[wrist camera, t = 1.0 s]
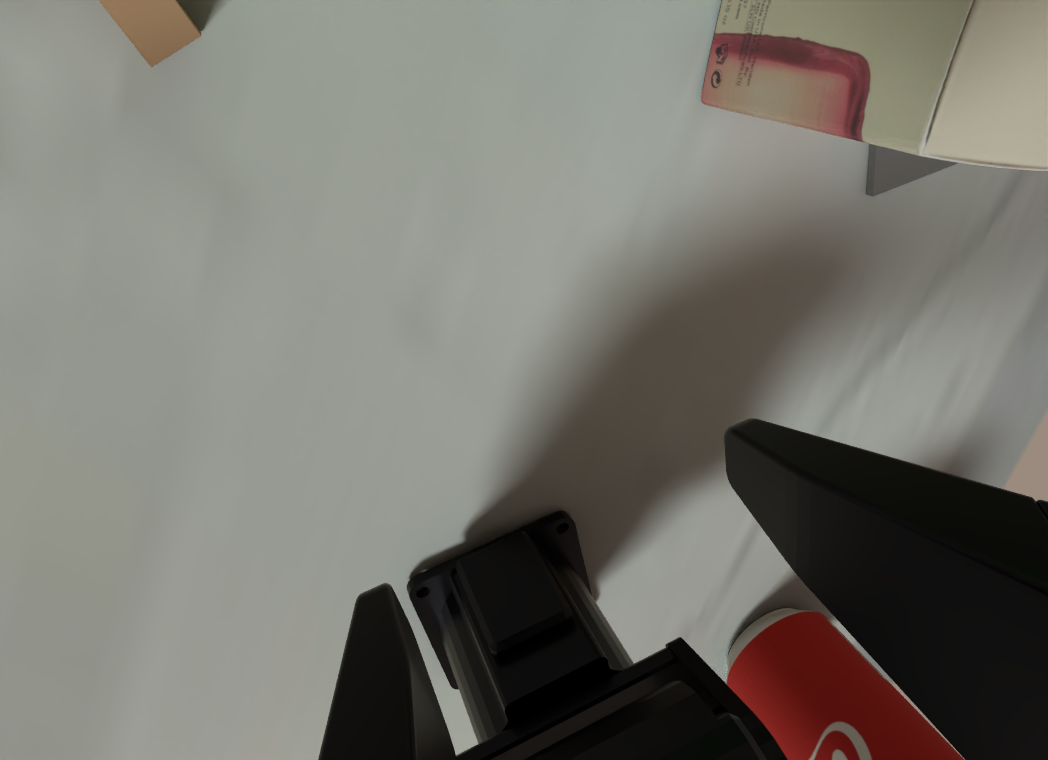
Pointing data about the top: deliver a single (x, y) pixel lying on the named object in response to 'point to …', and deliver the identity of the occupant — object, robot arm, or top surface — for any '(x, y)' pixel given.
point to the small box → (892, 73)
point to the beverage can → (825, 694)
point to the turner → (153, 26)
